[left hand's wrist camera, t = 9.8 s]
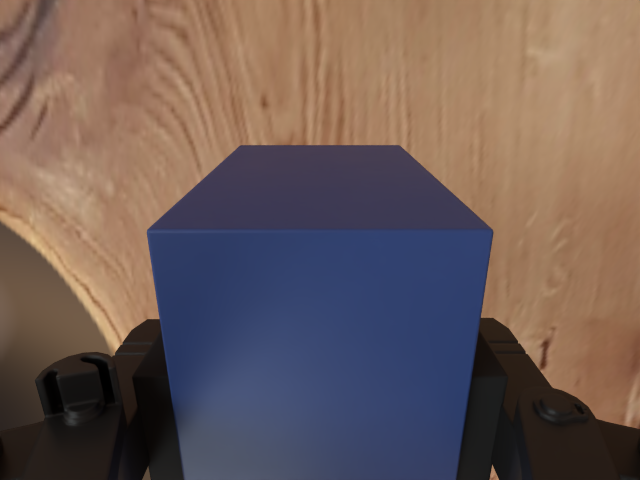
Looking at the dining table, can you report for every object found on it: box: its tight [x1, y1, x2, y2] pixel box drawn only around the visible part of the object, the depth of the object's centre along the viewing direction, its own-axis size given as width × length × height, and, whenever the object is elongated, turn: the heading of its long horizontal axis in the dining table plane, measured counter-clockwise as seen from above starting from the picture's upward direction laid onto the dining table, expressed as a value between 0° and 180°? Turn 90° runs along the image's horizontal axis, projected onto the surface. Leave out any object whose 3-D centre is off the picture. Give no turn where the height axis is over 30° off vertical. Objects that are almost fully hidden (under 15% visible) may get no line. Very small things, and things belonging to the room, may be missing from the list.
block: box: [147, 145, 493, 480], centre depth 12 cm, size 5×8×9 cm, turn 0°
